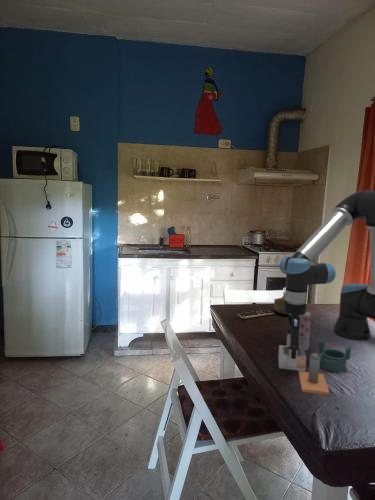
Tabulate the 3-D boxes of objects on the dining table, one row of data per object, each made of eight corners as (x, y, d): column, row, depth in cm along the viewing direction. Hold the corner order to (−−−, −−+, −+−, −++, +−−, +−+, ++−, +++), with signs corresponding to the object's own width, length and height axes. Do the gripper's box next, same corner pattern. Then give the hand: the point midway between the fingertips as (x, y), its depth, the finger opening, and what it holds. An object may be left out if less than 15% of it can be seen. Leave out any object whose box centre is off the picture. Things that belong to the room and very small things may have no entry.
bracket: (315, 361, 132) (317, 339, 131) (339, 361, 133) (341, 339, 131) (326, 373, 123) (328, 349, 122) (352, 373, 124) (354, 349, 122)
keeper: (323, 376, 121) (325, 347, 119) (328, 395, 109) (331, 363, 108) (298, 373, 122) (300, 345, 121) (301, 391, 111) (304, 360, 109)
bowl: (266, 304, 199) (272, 288, 198) (290, 312, 199) (296, 295, 198) (273, 314, 181) (280, 296, 180) (299, 322, 182) (306, 304, 180)
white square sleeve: (302, 360, 133) (303, 347, 132) (305, 371, 124) (306, 357, 124) (278, 357, 135) (279, 345, 134) (279, 368, 126) (279, 355, 126)
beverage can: (310, 347, 145) (312, 312, 143) (307, 352, 140) (309, 315, 138) (296, 344, 148) (298, 309, 146) (292, 349, 143) (294, 313, 141)
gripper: (282, 292, 139) (279, 343, 142) (286, 310, 115) (281, 372, 118) (302, 294, 138) (298, 346, 140) (310, 313, 113) (305, 375, 116)
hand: (290, 358), depth 129 cm, fingers open, 13 cm apart
